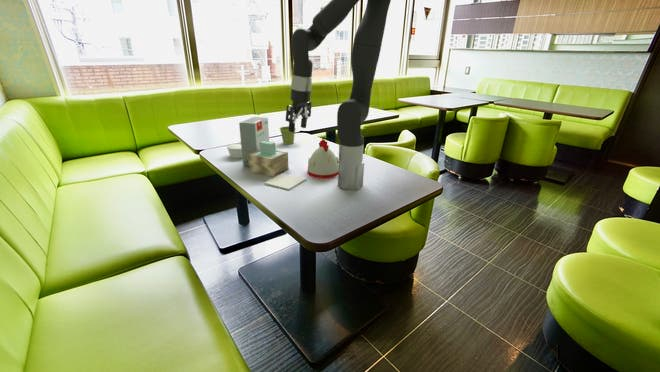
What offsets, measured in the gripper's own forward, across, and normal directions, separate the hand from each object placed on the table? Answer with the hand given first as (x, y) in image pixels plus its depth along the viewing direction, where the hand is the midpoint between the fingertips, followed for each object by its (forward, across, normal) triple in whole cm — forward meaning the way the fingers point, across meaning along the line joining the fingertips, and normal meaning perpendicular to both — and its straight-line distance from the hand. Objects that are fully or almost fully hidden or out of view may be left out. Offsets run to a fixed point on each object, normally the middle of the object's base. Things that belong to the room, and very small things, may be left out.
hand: (297, 129), depth 120 cm
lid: (+15, -2, +13) cm, 20 cm away
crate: (+22, -2, +12) cm, 25 cm away
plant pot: (+24, +39, +31) cm, 56 cm away
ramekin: (+25, +7, +38) cm, 46 cm away
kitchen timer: (+19, +8, -10) cm, 23 cm away
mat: (+20, -9, -2) cm, 22 cm away
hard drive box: (+24, +5, +25) cm, 35 cm away
